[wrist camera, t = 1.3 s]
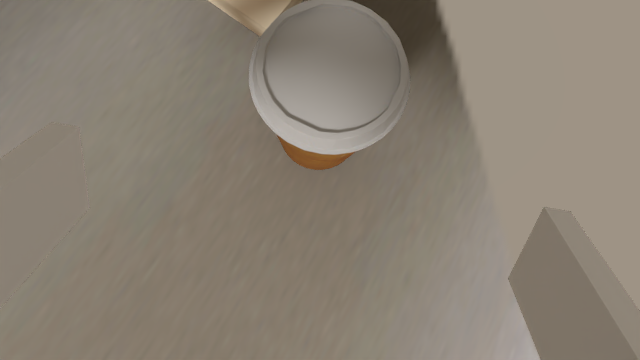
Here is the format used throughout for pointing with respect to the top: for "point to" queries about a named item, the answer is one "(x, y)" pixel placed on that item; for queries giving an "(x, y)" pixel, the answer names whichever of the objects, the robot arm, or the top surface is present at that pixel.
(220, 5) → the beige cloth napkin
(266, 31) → the disposable coffee cup
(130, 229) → the top surface
